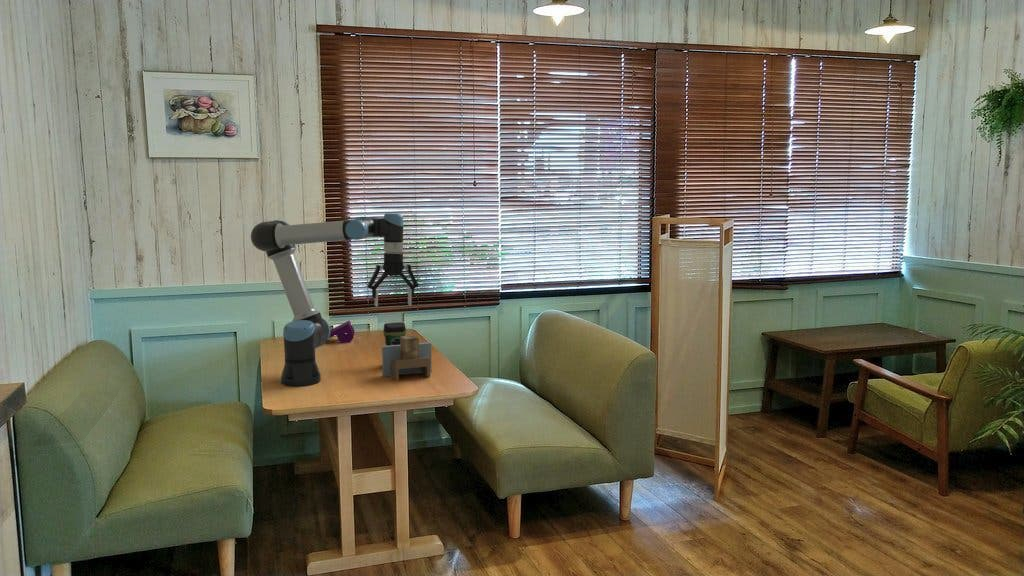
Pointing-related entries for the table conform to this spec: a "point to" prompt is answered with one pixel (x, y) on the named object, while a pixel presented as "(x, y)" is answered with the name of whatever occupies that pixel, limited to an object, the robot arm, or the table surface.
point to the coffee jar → (394, 333)
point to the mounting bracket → (343, 332)
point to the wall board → (406, 361)
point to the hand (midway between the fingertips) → (393, 305)
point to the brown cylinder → (409, 347)
